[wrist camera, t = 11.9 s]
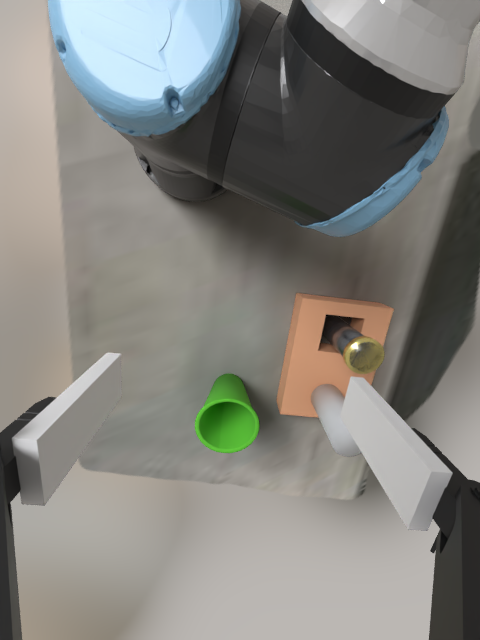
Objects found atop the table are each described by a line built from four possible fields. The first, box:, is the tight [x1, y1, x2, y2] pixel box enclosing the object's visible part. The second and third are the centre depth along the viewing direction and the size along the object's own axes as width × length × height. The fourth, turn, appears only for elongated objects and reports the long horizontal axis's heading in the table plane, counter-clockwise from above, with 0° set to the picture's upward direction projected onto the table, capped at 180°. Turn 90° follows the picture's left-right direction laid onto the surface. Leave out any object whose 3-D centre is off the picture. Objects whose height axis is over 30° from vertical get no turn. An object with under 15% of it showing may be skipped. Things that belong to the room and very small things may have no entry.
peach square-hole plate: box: [277, 293, 394, 457], centre depth 40 cm, size 20×14×14 cm
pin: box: [322, 315, 384, 374], centre depth 39 cm, size 5×5×12 cm
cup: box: [195, 374, 260, 453], centre depth 42 cm, size 9×9×11 cm
